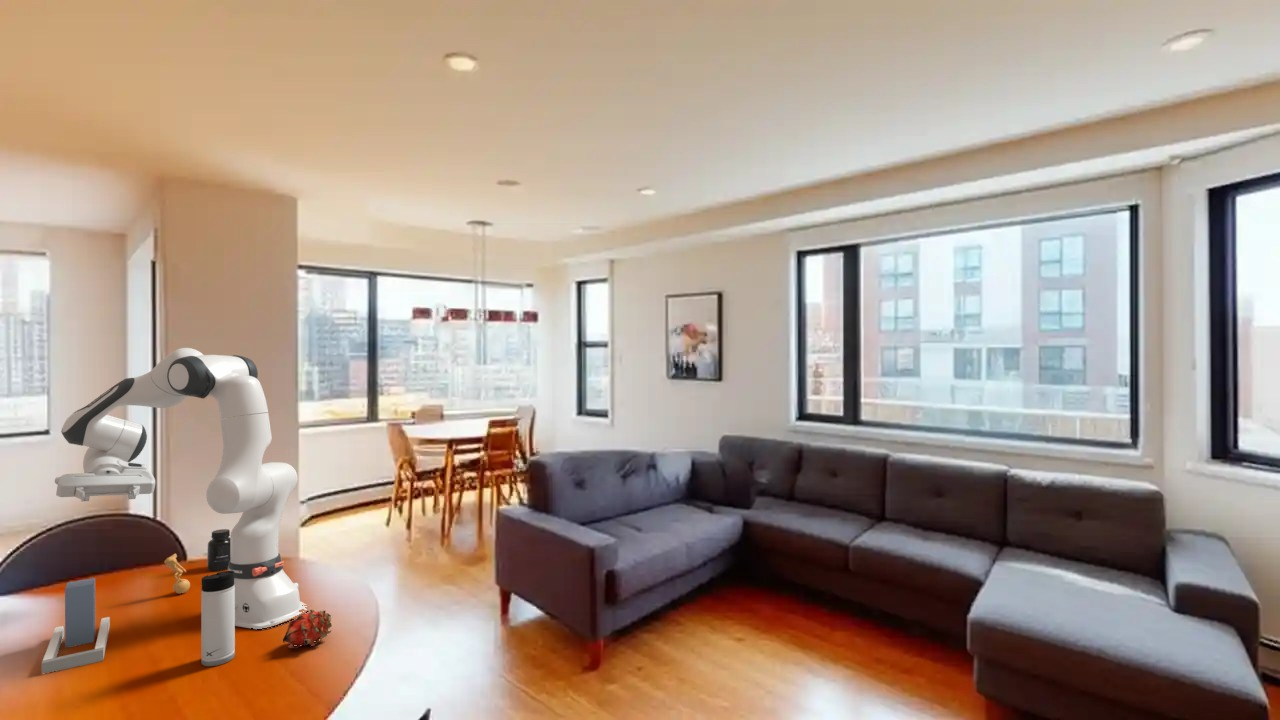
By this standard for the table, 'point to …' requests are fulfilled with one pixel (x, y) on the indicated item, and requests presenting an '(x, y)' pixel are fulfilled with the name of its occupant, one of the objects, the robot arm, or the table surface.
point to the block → (79, 612)
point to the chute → (77, 659)
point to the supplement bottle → (219, 550)
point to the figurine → (180, 584)
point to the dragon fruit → (308, 629)
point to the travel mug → (218, 618)
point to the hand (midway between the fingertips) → (109, 497)
